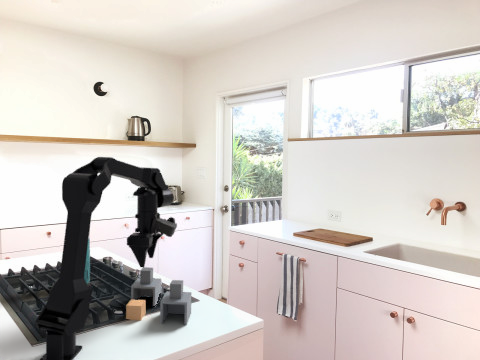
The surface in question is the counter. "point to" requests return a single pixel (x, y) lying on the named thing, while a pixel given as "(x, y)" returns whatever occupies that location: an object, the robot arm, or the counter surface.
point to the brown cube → (135, 309)
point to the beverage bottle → (87, 264)
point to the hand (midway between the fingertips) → (146, 262)
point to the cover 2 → (176, 301)
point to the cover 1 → (146, 285)
